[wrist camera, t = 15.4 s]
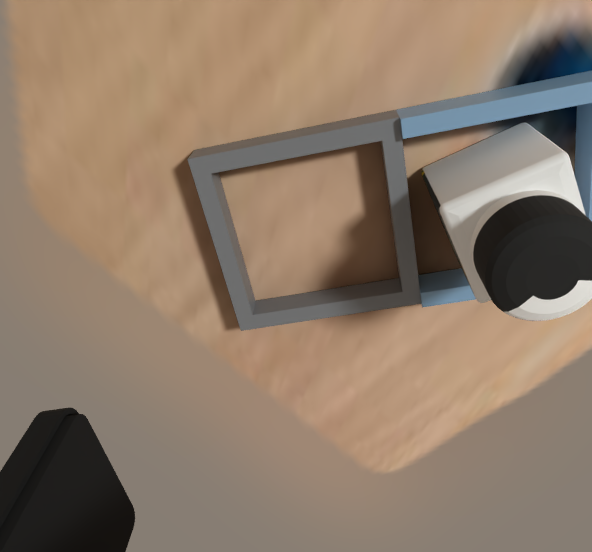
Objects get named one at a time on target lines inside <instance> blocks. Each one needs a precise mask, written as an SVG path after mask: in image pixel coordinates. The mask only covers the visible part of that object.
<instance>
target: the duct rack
mask: <svg viewBox="0 0 592 552" xmlns="http://www.w3.org/2000/svg"><path fill="white" fill-rule="evenodd" d="M572 106H577V118H576V146H575V174H574V175H575V179H576V183H577V186H578V190H579V193H580V197H581V200H582V204H583V207H584V211H585V214H586V216H587V217H588V218H589V219H590V220H591V221H592V71H588V72H583V73H578V74H573V75H568V76H563V77H558V78H553V79H548V80H543V81H538V82H533V83H528V84H523V85H518V86H513V87H508V88H503V89H498V90H493V91H487V92H482V93H477V94H472V95H467V96H462V97H457V98H452V99H447V100H442V101H437V102H432V103H427V104H422V105H417V106H412V107H407V108H402V109H397V110H392V111H387V112H382V113H377V114H372V115H367V116H362V117H357V118H352V119H347V120H342V121H337V122H332V123H327V124H322V125H317V126H312V127H307V128H302V129H297V130H292V131H287V132H282V133H277V134H272V135H267V136H262V137H257V138H252V139H247V140H242V141H237V142H232V143H227V144H222V145H217V146H212V147H207V148H202V149H197V150H194V151H193V152H192V154H191V155H190V156H189V158H188V162H189V166H190V169H191V172H192V175H193V178H194V182H195V185H196V188H197V191H198V195H199V198H200V201H201V204H202V207H203V211H204V214H205V217H206V220H207V223H208V227H209V230H210V233H211V236H212V240H213V243H214V246H215V249H216V252H217V256H218V259H219V262H220V265H221V268H222V272H223V275H224V278H225V281H226V285H227V288H228V291H229V294H230V297H231V301H232V304H233V307H234V310H235V313H236V317H237V320H238V323H239V326H240V330H241V331H242V330H249V329H256V328H262V327H269V326H276V325H282V324H289V323H295V322H302V321H309V320H315V319H322V318H329V317H335V316H342V315H349V314H355V313H362V312H368V311H375V310H382V309H388V308H395V307H402V306H408V305H415V304H422V307H428V306H434V305H441V304H448V303H454V302H461V301H468V300H474V299H476V298H475V296H474V294H473V292H472V289H471V287H470V285H469V283H468V281H467V279H466V276H465V274H464V272H463V270H462V268H460V269H454V270H447V271H441V272H435V273H428V274H422V275H418V270H417V261H416V253H415V244H414V236H413V227H412V219H411V210H410V202H409V193H408V184H407V176H406V167H405V159H404V150H403V142H402V138H403V139H406V138H411V137H416V136H421V135H426V134H432V133H437V132H442V131H447V130H452V129H458V128H463V127H468V126H473V125H478V124H484V123H489V122H494V121H499V120H505V119H510V118H515V117H520V116H525V115H531V114H536V113H541V112H546V111H551V110H557V109H562V108H567V107H572ZM378 141H381V148H382V155H383V163H384V170H385V177H386V185H387V192H388V199H389V207H390V214H391V221H392V229H393V236H394V243H395V251H396V258H397V265H398V273H399V278H397V279H390V280H384V281H378V282H371V283H365V284H359V285H352V286H346V287H340V288H333V289H327V290H321V291H314V292H308V293H302V294H295V295H289V296H283V297H276V298H270V299H264V300H257V301H255V298H254V294H253V291H252V287H251V284H250V280H249V277H248V273H247V270H246V266H245V263H244V259H243V256H242V252H241V249H240V245H239V242H238V238H237V235H236V231H235V228H234V224H233V221H232V217H231V214H230V210H229V207H228V204H227V200H226V197H225V193H224V190H223V186H222V183H221V179H220V176H219V172H222V171H227V170H232V169H237V168H243V167H248V166H253V165H258V164H263V163H269V162H274V161H279V160H284V159H289V158H295V157H300V156H305V155H310V154H315V153H320V152H326V151H331V150H336V149H341V148H346V147H352V146H357V145H362V144H367V143H372V142H378Z"/></svg>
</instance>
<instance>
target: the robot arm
mask: <svg viewBox="0 0 592 552" xmlns="http://www.w3.org/2000/svg"><path fill="white" fill-rule="evenodd" d="M134 522H135V512H134V508H133V505H132V503H131V502H130V500H129V498H128V496H127V494H126V492H125V490H124V488H123V486H122V484H121V482H120V480H119V479H118V477H117V475H116V473H115V471H114V469H113V467H112V465H111V463H110V461H109V460H108V457H107V456H106V454H105V452H104V450H103V448H102V446H101V444H100V442H99V440H98V438H97V436H96V434H95V433H94V431H93V429H92V427H91V425H90V423H89V421H88V419H87V418H86V416H84V415H83V414H79V413H78V412H77V411H76V410H75V409H73V408H63V409H57V410H49V411H43V412H40V413H39V414H38V415H37V416H36V417H35V418H34V420H33V422H32V423H31V425H30V426H29V428H28V430H27V431H26V433H25V434H24V436H23V437H22V439H21V440H20V442H19V443H18V445H17V447H16V448H15V450H14V451H13V453H12V454H11V456H10V458H9V459H8V461H7V462H6V464H5V465H4V467H3V469H2V470H1V472H0V552H125V551H126V548H127V545H128V542H129V539H130V536H131V533H132V530H133V527H134Z"/></svg>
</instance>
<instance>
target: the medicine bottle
mask: <svg viewBox="0 0 592 552" xmlns="http://www.w3.org/2000/svg"><path fill="white" fill-rule="evenodd" d="M421 174H422V177H423V179H424V181H425V184H426V186H427V188H428V191H429V193H430V196H431V198H432V200H433V203H434V205H435V208H436V210H437V212H438V215H439V217H440V220H441V222H442V224H443V227H444V229H445V231H446V234H447V236H448V239H449V241H450V243H451V246H452V248H453V251H454V253H455V255H456V257H457V259H458V261H459V264H460V266H461V268H462V270H463V272H464V274H465V276H466V279H467V281H468V283H469V285H470V287H471V289H472V292H473V294H474V296H475V298H476V300H477V301H478V302H480V303H484V302H487V301H490V300H492V301H493V303H494V304H495V305H496V306H497V307H498V308H499V309H500V310H502V311H503V312H505V313H506V314H508V315H510V316H513V317H515V318H518V319H522V320H529V321H543V320H551V319H555V318H559V317H562V316H565V315H568V314H570V313H572V312H574V311H576V310H578V309H579V308H581V307H582V306H584V305H585V304H586V303H587V302H589V301H590V300H591V299H592V221H591V220H590V219H589V218H588V217H587V216H586V214H585V211H584V207H583V204H582V200H581V197H580V193H579V190H578V186H577V183H576V179H575V175H574V172H573V168H572V165H571V161H570V158H569V155H568V154H567V153H566V152H565V151H564V150H562V149H561V148H560V147H558V146H557V145H556V144H554V143H553V142H552V141H550V140H549V139H548V138H546V137H545V136H544V135H542V134H541V133H540V132H538V131H537V130H536V129H534V128H533V127H532V126H530V125H529V124H528V123H525V122H524V123H520V124H518V125H515V126H513V127H511V128H509V129H507V130H504V131H502V132H500V133H498V134H496V135H493V136H491V137H489V138H487V139H485V140H482V141H480V142H478V143H476V144H474V145H471V146H469V147H467V148H465V149H463V150H460V151H458V152H456V153H454V154H452V155H449V156H447V157H445V158H443V159H441V160H438V161H436V162H434V163H432V164H430V165H428V166H425V167H424V168H423V169H422V171H421Z"/></svg>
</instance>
